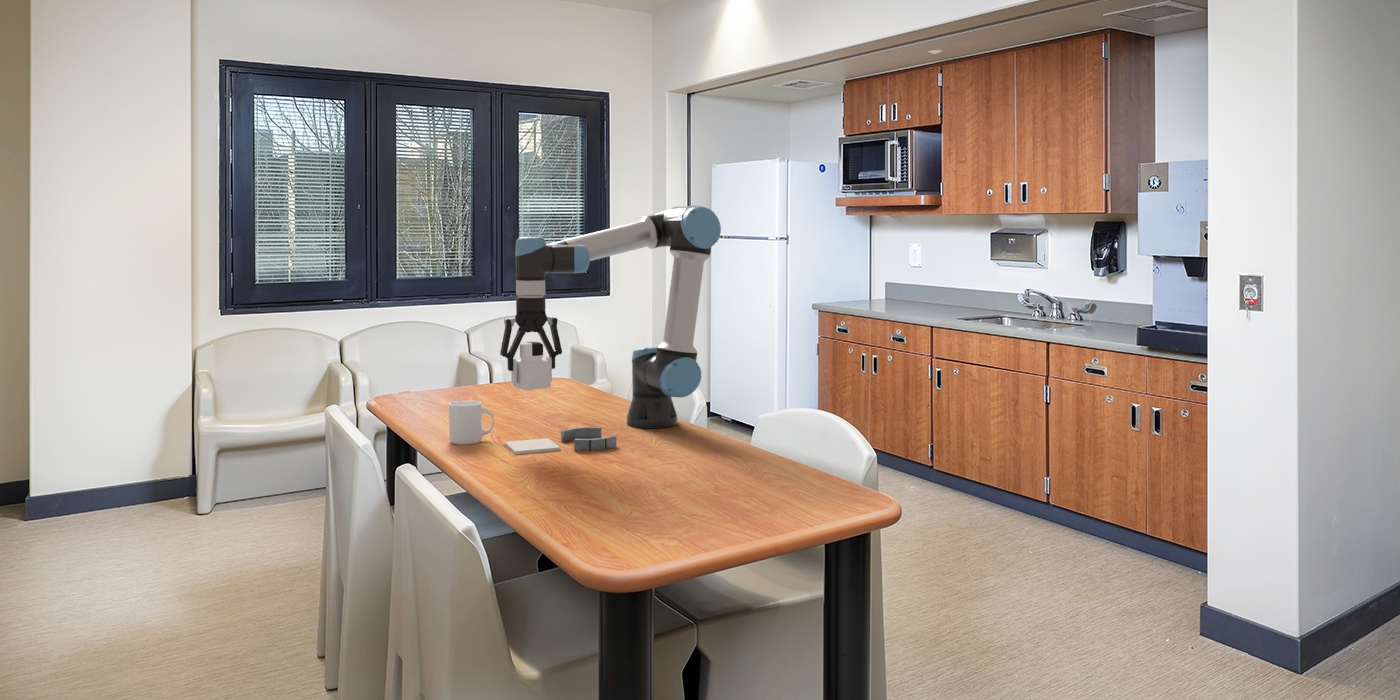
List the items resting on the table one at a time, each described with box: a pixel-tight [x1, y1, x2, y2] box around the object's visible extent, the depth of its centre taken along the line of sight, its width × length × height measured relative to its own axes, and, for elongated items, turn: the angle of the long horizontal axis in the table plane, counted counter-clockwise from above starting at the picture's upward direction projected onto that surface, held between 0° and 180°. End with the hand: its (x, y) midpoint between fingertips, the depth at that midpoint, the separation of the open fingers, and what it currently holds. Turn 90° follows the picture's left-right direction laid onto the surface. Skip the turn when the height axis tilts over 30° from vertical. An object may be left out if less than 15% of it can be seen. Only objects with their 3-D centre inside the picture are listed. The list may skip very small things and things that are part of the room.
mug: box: [448, 399, 495, 446], centre depth 263 cm, size 9×12×11 cm
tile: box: [503, 437, 561, 455], centre depth 256 cm, size 12×12×1 cm
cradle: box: [560, 426, 617, 452], centre depth 260 cm, size 12×16×3 cm
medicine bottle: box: [512, 341, 552, 391], centre depth 253 cm, size 7×7×12 cm
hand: (531, 382), depth 254 cm, fingers closed on medicine bottle, 9 cm apart
